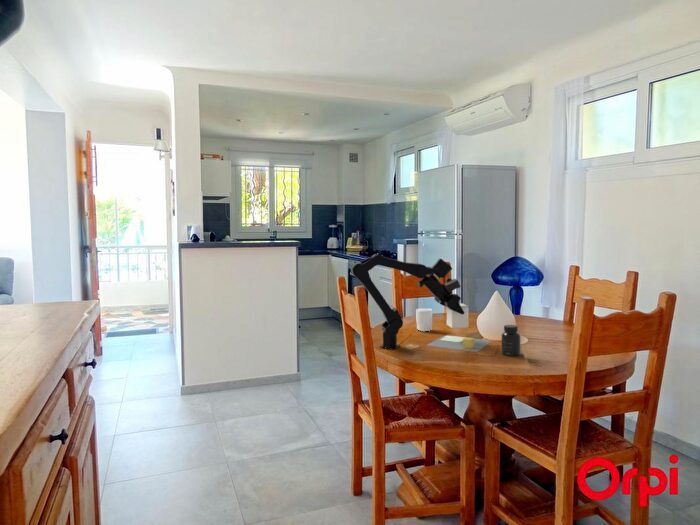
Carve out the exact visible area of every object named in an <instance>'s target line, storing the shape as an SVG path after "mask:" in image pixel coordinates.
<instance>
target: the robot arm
mask: <svg viewBox="0 0 700 525" xmlns="http://www.w3.org/2000/svg"><path fill="white" fill-rule="evenodd" d="M378 265H379V266H383V267H387V268H390V269H395V270H397V271H402V272H405V273H407V274H409V275H411V276H412V277H415V278H418V279H419V280H417V287H419V288H422V287H423V286H424V287H425V288H426V289H427V290H428V291H429V292H430V294H431V295H433V297H434V299H433V300H434V301H435V302H436V303H437V304H440V305H441V306H444V307H446V308H447V307H448V308H449V309H451V310H453V311H455V312H458V313H460V314H462V315H463V314H464V311H463V309H462V308H461V306H460V304H459V303H460V301H461V299H462V297H461V296H459V294H457V293H453V291H454V290H457V289H459V288H461V284H460V282H459V280H458V279H456V278H450V277H448V278H446V279H445V283H442V282H441V281H440V279H444V278H445V277H447V275H448V274H449V273H450V272H452V271H453V268H452V267H451V265H450V264H449V263H447V262H446V261H445V260H443V259H442V258H438V259H437V261H436V262H435V263H434V264H433V265H432V266H426V265H425V264H422V263H417V262H404V261H401V260H397V259H393V258H389V257H386V256H382V255H381V254H377V253H375V254H373V255H371V256H370V257H368V258H366V259H364V260H362V261H360V262H354V263H353V264H352V265H351V267H350V272H351V274H352V275H353V276H354V277H355V278H356V279H357V280H358V281H359V282H360V283H361V284H362V285H363V287H365V290H366V291H367V292H368V294H369V296H370V297H371V298H372V299H373V301H374V302H375V304H376V305H377V307H378V308H379V309H380V311H381V313H382V315H383V318H384V322H383V323H382V324H381V326H380V327H381V330H382V331H383V332H382V344H381V345H380V346H379V348H381V347H386V348H385V349H388V348H391V349H390V350H394V348H395V349H397V348H399V347H401V344H398V335H399V334H398V333H399V332H400V331H399V330H400V329H401V328H402V327H403V324H404V321H403V316H402V315H400V313H399V310H398V309H397V308H396V307H392V308H391V306H390V305H389V303H388V302H387V300H386V299H385V297H384V296H383V294H382V293H381V292H380V291H379V289H378V288H377V286H376V285H375V284H374V282H373V280H372V278H371V276H370V274H369V271H371V270H372V269H373V268H375V267H376V266H378ZM398 346H399V347H398ZM396 347H397V348H396Z"/></svg>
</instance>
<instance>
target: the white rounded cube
mask: <svg viewBox="0 0 700 525" xmlns="http://www.w3.org/2000/svg"><path fill="white" fill-rule="evenodd" d="M459 304H460V306H461V308H462V309H463V311H464V314H463V315H462V314H460V313H458V312H455V311H453V310H451V309H449V308H448V307H446V326H448V327H450V328H451V329H463V328H465V329H467V328H468V329H469V307H470V306H469V305H467V304H466V303H463V302H461V303H460V302H459Z"/></svg>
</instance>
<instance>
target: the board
mask: <svg viewBox="0 0 700 525" xmlns="http://www.w3.org/2000/svg"><path fill="white" fill-rule="evenodd" d="M491 342H492V340H489V339H481V338H480V339H479V338H475V337H467V336H465V337H464V336H463V337H462V336H454V335H443V336H441V337H439V338H437V339H435V340H433V341H431V342H430V343H428V344H427V345H426V346H428V347H435V348H442V349H448V350H449V349H450V350H457V351H458V350H459V351H468V352H475V353H478V352H479V351H481V350H482V349H484V348H485V347H486V346H487V345H488V344H490V343H491Z"/></svg>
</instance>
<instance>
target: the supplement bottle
mask: <svg viewBox="0 0 700 525" xmlns="http://www.w3.org/2000/svg"><path fill="white" fill-rule="evenodd" d="M503 331H504V332H503V333H501V339H500V340H501V355H502V356H505V357H509V358H510V357H511V358H513V357H520V356H521V334H520V333H519V332H518V331H519V329H518V325H516V324H505V325H504V326H503Z"/></svg>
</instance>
